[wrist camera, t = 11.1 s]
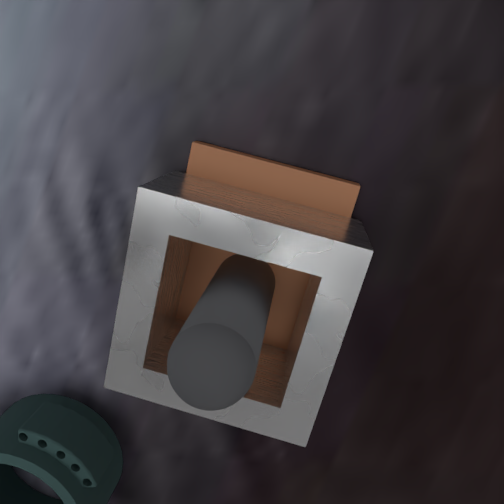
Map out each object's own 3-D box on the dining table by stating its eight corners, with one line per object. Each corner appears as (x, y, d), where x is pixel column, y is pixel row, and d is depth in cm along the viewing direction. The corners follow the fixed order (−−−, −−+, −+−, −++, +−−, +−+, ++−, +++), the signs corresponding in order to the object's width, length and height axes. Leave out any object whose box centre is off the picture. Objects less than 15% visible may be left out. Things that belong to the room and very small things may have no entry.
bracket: (135, 510, 30) (66, 667, 22) (2, 499, 31) (-115, 644, 23) (122, 386, 28) (37, 507, 19) (-23, 379, 29) (-165, 491, 20)
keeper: (154, 353, 26) (57, 499, 16) (197, 140, 23) (105, 163, 13) (292, 392, 26) (278, 567, 16) (358, 183, 22) (394, 241, 12)
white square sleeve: (176, 170, 22) (138, 186, 18) (360, 220, 22) (373, 250, 17) (143, 334, 25) (103, 387, 20) (307, 382, 25) (305, 447, 20)
